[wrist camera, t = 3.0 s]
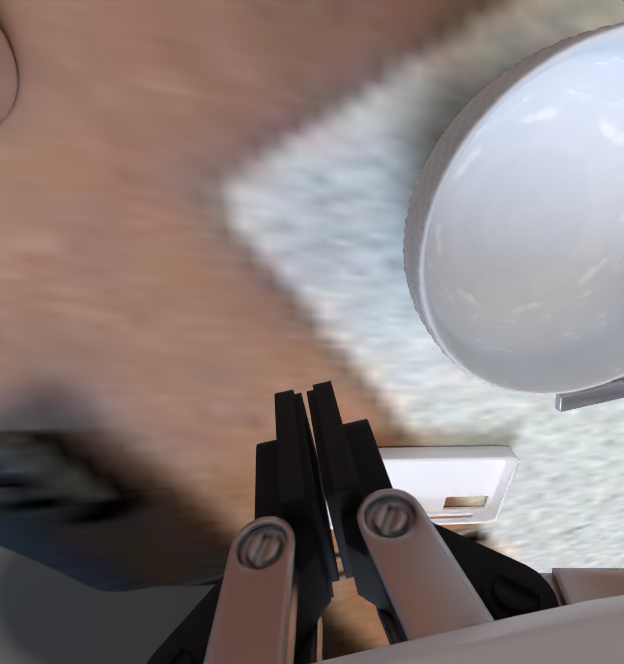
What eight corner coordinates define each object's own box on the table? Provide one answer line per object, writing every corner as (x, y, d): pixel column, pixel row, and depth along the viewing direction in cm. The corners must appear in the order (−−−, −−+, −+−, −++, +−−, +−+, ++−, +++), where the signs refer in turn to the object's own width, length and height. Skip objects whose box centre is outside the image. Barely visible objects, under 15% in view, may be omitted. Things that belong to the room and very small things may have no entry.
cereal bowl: (352, 326, 27) (380, 387, 21) (421, 14, 20) (494, -37, 14) (582, 349, 30) (668, 409, 23) (714, 82, 23) (888, 65, 16)
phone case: (512, 444, 33) (327, 447, 31) (522, 456, 32) (330, 460, 30) (488, 510, 36) (319, 516, 35) (496, 523, 35) (321, 530, 33)
